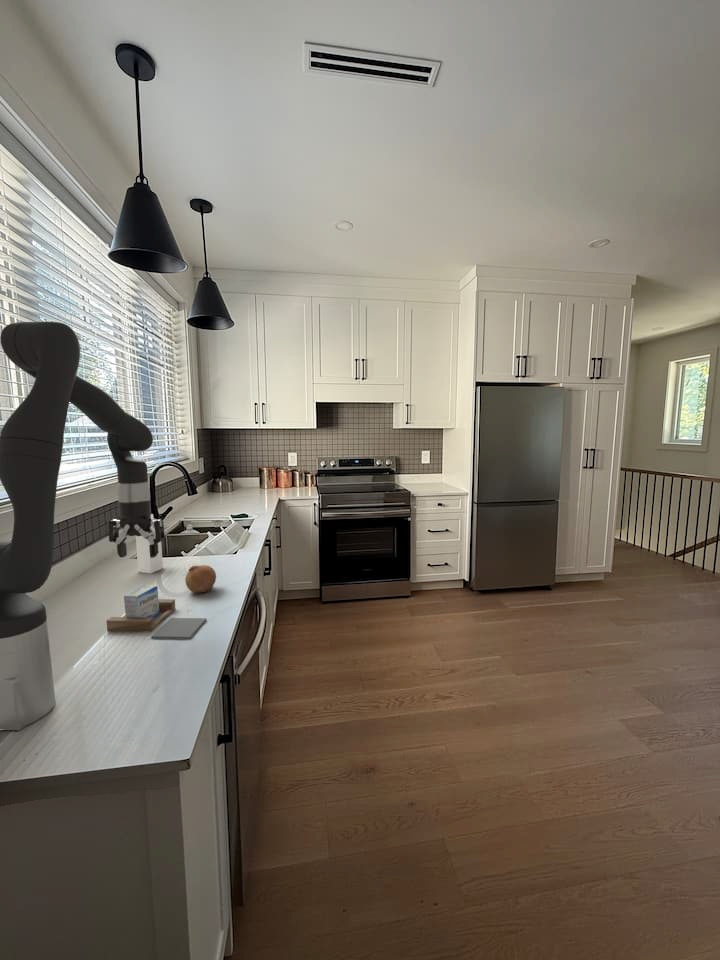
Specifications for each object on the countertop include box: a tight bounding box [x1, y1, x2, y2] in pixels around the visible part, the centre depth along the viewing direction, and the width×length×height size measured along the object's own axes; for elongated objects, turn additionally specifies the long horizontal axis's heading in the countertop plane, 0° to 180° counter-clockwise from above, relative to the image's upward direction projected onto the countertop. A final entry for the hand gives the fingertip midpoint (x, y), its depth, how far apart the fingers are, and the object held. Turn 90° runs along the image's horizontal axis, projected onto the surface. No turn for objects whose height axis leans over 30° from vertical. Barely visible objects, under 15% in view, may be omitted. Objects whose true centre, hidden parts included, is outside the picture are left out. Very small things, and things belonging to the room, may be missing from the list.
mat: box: [150, 617, 207, 640], centre depth 105 cm, size 10×10×1 cm
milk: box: [135, 513, 164, 574], centre depth 149 cm, size 6×6×22 cm
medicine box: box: [123, 584, 160, 619], centre depth 110 cm, size 8×4×9 cm, turn 168°
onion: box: [184, 564, 217, 594], centre depth 130 cm, size 10×9×10 cm
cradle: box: [106, 598, 176, 633], centre depth 110 cm, size 13×12×3 cm
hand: (138, 556), depth 108 cm, fingers open, 8 cm apart
